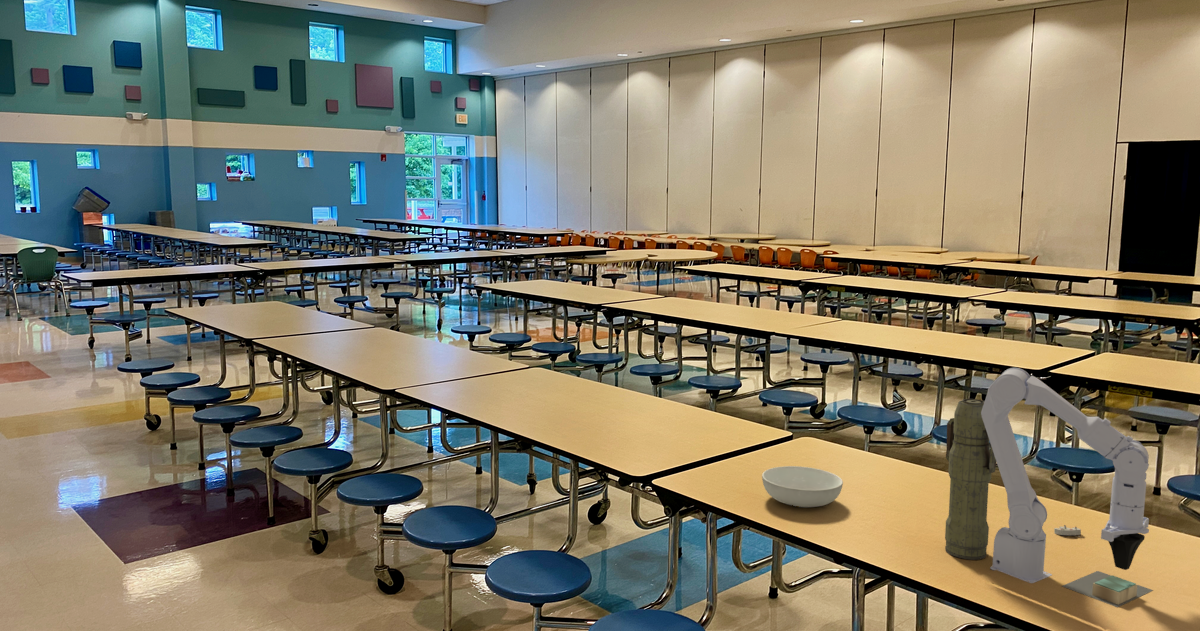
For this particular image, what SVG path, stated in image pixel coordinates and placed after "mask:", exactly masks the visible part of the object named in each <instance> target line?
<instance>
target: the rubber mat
mask: <svg viewBox="0 0 1200 631" xmlns="http://www.w3.org/2000/svg"><path fill="white" fill-rule="evenodd" d="M1109 576H1111V574H1109V573H1105V572H1102V571H1100V570H1096V571H1094V572H1091V573H1090V574H1089V573H1088V574H1087V575H1084V576H1082V577H1079V578H1077V579H1074V580H1073V581H1070V582H1068V583H1065V584H1063V585H1061V588H1062V587H1063V588H1066V589H1069V590H1070V591H1073V592H1076V593H1078V594H1081V595H1084V596H1086V597H1089V598H1091V599H1094V600H1097V601H1100V602H1102V603H1104V604H1107V605H1109V606H1113V607H1115V608H1119V607H1122V606H1124V605H1126V604H1128V603H1130V602H1133V601H1134V600H1136V599H1138V598H1140V597H1142V596H1143V597H1144V595H1146V594H1149V593H1151V592H1153V591H1154V590H1153V589H1151V588H1148V587H1145V586H1143V585H1139V584H1137V595H1136V596H1135V597H1133V598H1131V599H1129V600H1127V601H1125V602H1123V603H1121V604H1119V605H1118V604H1115V603H1113V602H1110V601H1107V600H1105V599H1102V598H1099V597H1097V596H1094V595H1092V591H1093V583H1095V582H1097V581H1100V580H1102V579H1104V578H1107V577H1109Z"/></svg>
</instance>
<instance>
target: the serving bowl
mask: <svg viewBox="0 0 1200 631" xmlns="http://www.w3.org/2000/svg"><path fill="white" fill-rule="evenodd" d="M761 478H762V484H763V487H764V490H765V491H766V493H767V495H769V496H770V497H771V498H772V499H775V500H776V501H777V502H779V503H783V504H785V505H788V506H792V505H793V506H792V507H796V506H799V507H798V508H816V507H822V506H825V505H826V506H827V505H828V504H831V503H832V502H834V501H835V500H836V499H837V498H838V497H839V495H840V494H841V491H842V488H843V484H844V481H843V479H842V478H841V477H840V476H839V475H837V474H835V473H833V472H830V471H828V470H824V469H821V468H820V469H819V468H816V467H810V466H809V467H808V466H799V465H798V466H796V465H795V466H794V465H788V466H786V465H784V466H775V467H771V468H768V469H766V470H764V471H763V472H762V474H761Z"/></svg>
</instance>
